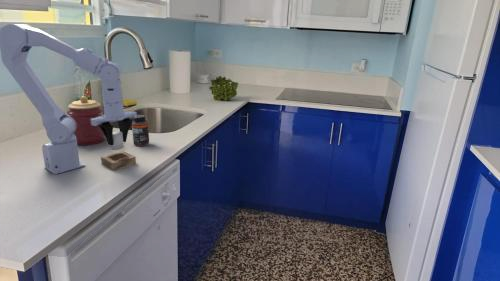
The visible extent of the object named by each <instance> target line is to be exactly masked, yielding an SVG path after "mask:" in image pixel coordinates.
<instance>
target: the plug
mask: <svg viewBox="0 0 500 281" xmlns="http://www.w3.org/2000/svg"><path fill="white" fill-rule="evenodd" d="M124 143H125V142H123V133H122V132H120V130H117V131H113V145H110V150H114V151H117V150H118V151H119V150H122V149H124V148H125V146H124Z"/></svg>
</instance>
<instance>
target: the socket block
mask: <svg viewBox="0 0 500 281" xmlns="http://www.w3.org/2000/svg"><path fill="white" fill-rule="evenodd" d="M136 157H137V156H135V155H132V154H131V153H128V152H126V151H124V150H123V151H118V152H115V153H111V154H106V155H103V156H100V163H101V165H103V166H105V167H107V168H109V170H112V171H117V170H119V169H123V168H127V167H130V166H133V165H136V164H137V158H136Z"/></svg>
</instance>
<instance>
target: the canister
mask: <svg viewBox="0 0 500 281" xmlns="http://www.w3.org/2000/svg"><path fill="white" fill-rule="evenodd" d="M67 107H68V110H67V111H65V113H66V114H67V115H68V116H69V117H71V118H73V119H74V120H75V122H76V124H77V128H76V130H75V132H74V135H75V136H76V139H77V146H78V145H79V146H89V145H97V144H99V143H102V142H104V141H105V140H106V137H105V135H104V133H103V131H102V130H101V128H100V127H99V126H98V125H97V126H93V125H91V119H92V118H96V117H100V116H103V113H104V108H102V107H101V103H100V102H97V100H94V99H93V100H92V99H88V97H87V96H85V95H82V96H80V98H79V100H75V101H72V102H71V103H70V104H68V106H67Z"/></svg>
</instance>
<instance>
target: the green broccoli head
mask: <svg viewBox="0 0 500 281" xmlns="http://www.w3.org/2000/svg"><path fill="white" fill-rule="evenodd" d="M210 83H211V84H210V85H211V86H210V87H209V90H210V91H211V92H210V93H211V95H213V100H216V101H217V100H218V101H220V100H223V101H228V100H232V98H235V97H236V96H237V95H238V92H237V91H238V90H237V89H238V87H239V82H236V81H233V80H232V79H231V78H229V77H228V79H227V78H226V76H223V77H222V76H220V75H219V76H216V78H215V79H211V82H210Z"/></svg>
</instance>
